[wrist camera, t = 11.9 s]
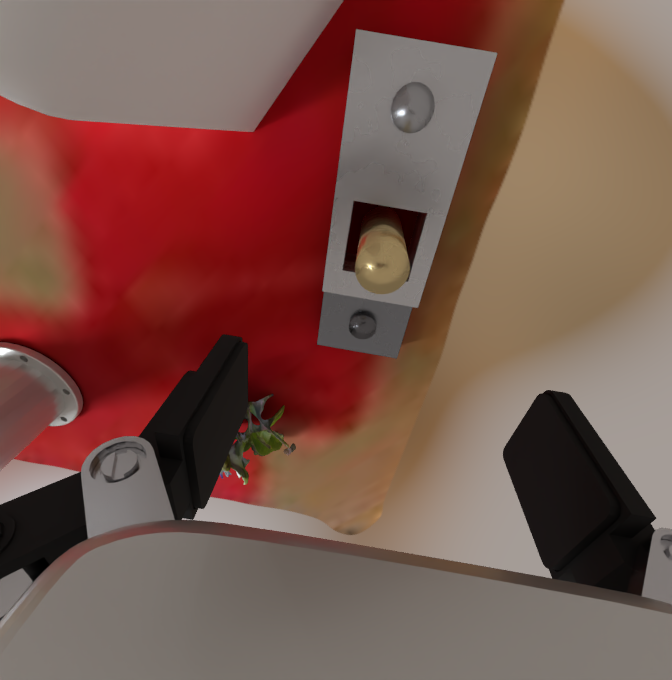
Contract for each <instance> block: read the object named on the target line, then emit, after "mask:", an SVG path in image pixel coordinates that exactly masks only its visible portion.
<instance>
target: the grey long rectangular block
mask: <svg viewBox="0 0 672 680" xmlns="http://www.w3.org/2000/svg"><path fill="white" fill-rule="evenodd" d="M496 56H497V53H495V52H489V51H483V50H477V49H471V48H466V47H460V46H454V45H448V44H442V43H436V42H430V41H424V40H418V39H412V38H406V37H400V36H394V35H388V34H382V33H376V32H370V31H364V30H358V29H356V34H355V42H354V50H353V57H352V65H351V73H350V81H349V88H348V96H347V104H346V112H345V119H344V127H343V135H342V142H341V150H340V158H339V166H338V173H337V181H336V189H335V196H334V204H333V212H332V220H331V227H330V235H329V243H328V250H327V258H326V266H325V274H324V281H323V289H322V291H323V292H324V296H323V303H322V311H321V318H320V326H319V333H318V341H317V345H323V346H329V347H334V348H340V349H346V350H352V351H357V352H363V353H369V354H374V355H380V356H386V357H392V358H397V357H398V353H399V350H400V347H401V343H402V340H403V337H404V333H405V330H406V327H407V324H408V320H409V317H410V314H411V310H412V307H415V308H418V306H419V303H420V300H421V297H422V293H423V290H424V287H425V284H426V281H427V277H428V274H429V271H430V268H431V265H432V261H433V258H434V255H435V252H436V249H437V245H438V242H439V239H440V236H441V233H442V229H443V226H444V223H445V220H446V217H447V213H448V210H449V207H450V204H451V200H452V197H453V194H454V191H455V188H456V184H457V181H458V178H459V175H460V172H461V168H462V165H463V162H464V159H465V156H466V152H467V149H468V146H469V143H470V140H471V136H472V133H473V130H474V127H475V124H476V120H477V117H478V114H479V111H480V108H481V104H482V101H483V98H484V95H485V92H486V88H487V85H488V82H489V79H490V76H491V72H492V69H493V66H494V63H495V60H496ZM355 201H358V202H364V203H370V204H376V205H382V206H388V207H393V208H399V209H405V210H411V211H417V212H418V214H417V218H416V222H415V225H414V229H413V233H412V237H411V240H410V244H409V248H408V252H407V254H408V258H409V263H410V272H409V276H408V278H407V280H406V282H405V283H404V284H403V285H402V286H401V287H400V288H399V289H398V290H396V291H394V292H392V293H388V294H375V293H372V292H369V291H367V290H366V289H364V288H363V287H362V286H361V285H360V283H359V282H358V280H357V278H356V274H355V264H356V257H357V254H352V253H346V252H347V246H348V240H349V234H350V227H351V221H352V215H353V209H354V203H355Z"/></svg>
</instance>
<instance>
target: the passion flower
mask: <svg viewBox="0 0 672 680" xmlns="http://www.w3.org/2000/svg"><path fill="white" fill-rule="evenodd" d="M271 396H273V394H271V395H269V396H266V397H265V398H263V399H261V400H258V401H256V402H248V408H247V412H246V415H245V417H244V419H247V420H248V428H247V430H246V432H244V433H240V432H238V433H237V435H236V438H235V439H237V441H236V442H235V443H234V444H233V445H232V447H231V449H230V452H229V454H228V456H227V458H226V461H225V463H224V465H223V468H222V470H221V472H220V475H221V478H223V475H222V473H223V472H225V475H226V476H227V477H229V474H230V475H231V473H230V472H229V470H230V468H232V469H234V470H235V471H236V472H237V475H238V477H239V478H240V477H241V476H242V478H243V480H244V485H245V484H247V483H248V477H249V475H248V472H247V471H246V470H245V467H246V465H247V464H248V463H249V461H250V460H247V459H246V458H243V457H242V456H243V452H245V451H247V450H248V449H249V448H250V447H251V448H252V450H253V451H254V455H260V456H265V455H267V454H269V453H271V452H272V451H276V450H279V449H280V448H281V446H282V443H283V444H284V445H285V446H286V447H288V449H285V450H284V453H285V454H287V455H289V454H290V453H291V452H293V451H294V450H295V449H296V446H295V444H292V445H291V447H290V448H289V445H288V444H287V443H286V442H285V441H284V440H283V437H284V435H283V434H280V433H278V432H275V431H272V430H271V428H270V427H271V426H273V425H274V423H275V422H276V421H277V420H278V419H280V417H281V416H282V414H283V412H284V407H285V406H284V405H283V406H282V408H281V409H280V410H279V411H278V412H277V413H276V414H275V415H274V416H273V417H272V418H270V419H267V420H263V419H262V418H261V413H262V411H263V409H264V404H265V402H266V401H267V399H268V398H270V397H271ZM251 414H254V415H255V416H256V417H257V418H258V420H259V421H260V425H259V426H257V425H254V424H253V422H252V420H251Z"/></svg>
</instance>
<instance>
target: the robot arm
mask: <svg viewBox="0 0 672 680" xmlns="http://www.w3.org/2000/svg"><path fill="white" fill-rule="evenodd" d="M82 407H83V399H82V395H81V393H80V390H79V388H78V386H77V385H76V383H75V382H74V380H73V379H72V378H71V377H70V376H69V375H68V373H66V372H65V371H64V370H63V369H62V368H61V367H60V366H59V365H57V364H56V363H55V362H53V361H52V360H50V359H49V358H47V357H45V356H44V355H42V354H40V353H38V352H36V351H34V350H32V349H29V348H27V347H24V346H21V345H17V344H12V343H7V342H0V471H1V470H2V469H3V468H4V467H5V466H6V465H7V464H8V463H9V462H10V461H11V460H12V459H14V458H15V457H16V456H17V455H18V454H19V453H20V452H21V451H22V450H23V449H24V448H25V447H26V446H28V445H29V444H30V443H31V442H32V441H33V440H34V439H35V438H36V437H37V436H38V435H39V434H40V433H41V432H42V431H43V430H44V429H45V428H46V427H47V426H61V425H65V424H68V423H70V422H71V421H73V420H74V419H75V418H76V417H77V416H78V415H79V414H80V412H81V410H82ZM247 408H248V344H247V343H245V342H242V338H241V337H237V336H231V335H225V334H224V335H222V336H221V337H220V339H219V340H218V341H217V343H216V344H215V346H214V347H213V349H212V350H211V351H210V353H209V354H208V356H207V357H206V359H205V360H204V361H203V363H202V364H201V366H200V367H199V369H198V370H197V371H188V372H187V373H186V374H185V375H184V376H183V377H182V379H181V380H180V381H179V383H178V384H177V386H176V387H175V388H174V390H173V391H172V392H171V394H170V395H169V396H168V398H167V399H166V400H165V402H164V403H163V404H162V406H161V407H160V409H159V410H158V411H157V413H156V414H155V415H154V417H153V418H152V419H151V421H150V422H149V423H148V425H147V426H146V427H145V429H144V430H143V432H142V433H141V434H140V436H139V437H136V436H125V437H120V438H116V439H113V440H110V441H108V442H106V443H103V444H102V445H100V446H99V447H97V448H96V449H94V450H93V451H92V452H91V454H90V455H89V456H88V457H87V458H86V460H85V461H84V463H83V465H82V470H81V472H79V473H77V474H74V475H72V476H69V477H67V478H65V479H62V480H60V481H57V482H55V483H52V484H50V485H47V486H45V487H43V488H40V489H38V490H35V491H33V492H30V493H28V494H26V495H23V496H21V497H18V498H16V499H14V500H11V501H8V502H6V503H3V504H1V505H0V680H672V529H668V528H660V529H657V530H654V528H653V527H652V525H651V524H650V523H651V522H653V521H654V520H655V519H656V517H655V516H654V514H653V513H652V511H651V510H650V509H649V507H648V506H647V504H646V503H645V501H644V500H643V499H642V497H641V496H640V495H639V493H638V491H637V490H636V489H635V487H634V486H633V484H632V483H631V481H630V480H629V479H628V477H627V476H626V474H625V473H624V471H623V470H622V469H621V467H620V466H619V465H618V463H617V461H616V460H615V459H614V457H613V456H612V454H611V453H610V452H609V450H608V448H607V447H606V446H605V444H604V443H603V441H602V440H601V438H600V437H599V436H598V434H597V433H596V431H595V430H594V428H593V427H592V426H591V424H590V423H589V421H588V420H587V418H586V417H585V416H584V414H583V413H582V411H581V410H580V408H579V407H578V406H577V404H576V403H575V401H574V400H573V398H572V397H571V396H570V395H569V394H567V393H563V392H557V391H551V390H547V391H545V392H544V393H543V394H539V395H538V396H537V397H536V399H535V400H534V402H533V403H532V405H531V407H530V408H529V410H528V411H527V413H526V415H525V416H524V418H523V419H522V421H521V423H520V424H519V425H518V427H517V429H516V430H515V432H514V433H513V435H512V436H511V438H510V440H509V441H508V443H507V444H506V446H505V448H504V451H503V458H504V461H505V464H506V467H507V469H508V472H509V475H510V477H511V480H512V483H513V485H514V488H515V491H516V493H517V496H518V499H519V501H520V504H521V507H522V509H523V512H524V515H525V517H526V520H527V523H528V525H529V528H530V531H531V533H532V536H533V539H534V541H535V544H536V547H537V549H538V552H539V555H540V557H541V560H542V562H543V564H544V566H545V567H546V568H548V569H549V571H550V573H551V576H552V579H551V578H545V577H540V576H534V575H529V574H523V573H518V572H512V571H507V570H501V569H495V568H490V567H484V566H478V565H473V564H467V563H461V562H455V561H449V560H444V559H438V558H432V557H426V556H421V555H415V554H409V553H404V552H397V551H392V550H386V549H380V548H375V547H369V546H363V545H357V544H351V543H344V542H339V541H333V540H327V539H321V538H315V537H309V536H303V535H297V534H291V533H285V532H279V531H272V530H265V529H259V528H252V527H245V526H239V525H232V524H225V523H215V522H206V521H195V520H193V519H194V517H195V514H196V512H197V510H198V508H201V509H203V508H205V506H206V504H207V502H208V500H209V498H210V495H211V493H212V491H213V488H214V486H215V484H216V481H217V479H218V477H219V475H220V472H221V470H222V468H223V465H224V463H225V461H226V458H227V456H228V454H229V452H230V449H231V447H232V445H233V442H234V440H235V438H236V435H237V433H238V431H239V429H240V426H241V424H242V422H243V419H244V417H245V415H246V412H247ZM182 518H186V519H192V520H182Z"/></svg>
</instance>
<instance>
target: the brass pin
mask: <svg viewBox="0 0 672 680" xmlns="http://www.w3.org/2000/svg"><path fill="white" fill-rule="evenodd" d="M409 272H410V263H409V258H408V254H407V249H406V244H405V240H404V235H403V231H402V226H401V221H400V218H399V216H398V215H397V214H396V212H394V211H393V210H392V209H390V208H387V207H377V208H374V209H372V210H371V211H369V212H368V213H367V214H366V215H365V217H364V218H363V221H362V224H361V230H360V237H359V244H358V250H357V257H356V264H355V274H356V278H357V280H358V282H359V283H360V285H361V286H362V287H363V288H364V289H366V290H367V291H369V292H372V293H375V294H388V293H392V292H394V291H396V290H398V289H399V288H400V287H401V286H402V285H403V284H404V283H405V282H406V280H407V278H408V276H409Z"/></svg>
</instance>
